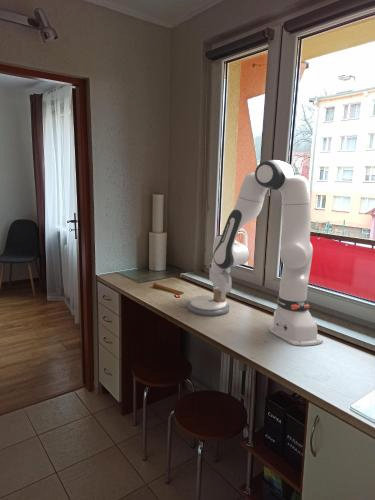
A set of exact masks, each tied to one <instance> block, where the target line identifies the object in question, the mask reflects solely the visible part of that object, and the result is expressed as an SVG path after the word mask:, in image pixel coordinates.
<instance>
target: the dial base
mask: <svg viewBox="0 0 375 500" xmlns="http://www.w3.org/2000/svg"><path fill="white" fill-rule="evenodd" d="M187 310H188V312H190V313H191V314H194V315H197V316H202V317H220V316H224V315H227V314H228V313H229V312H230V305H229V302H226V307H225V308H224V309H221V310H213V311H210V310H201V309H197V308H195V307H193V306H192V305H191V300H189V301H187Z"/></svg>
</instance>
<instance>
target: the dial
mask: <svg viewBox="0 0 375 500" xmlns="http://www.w3.org/2000/svg"><path fill="white" fill-rule="evenodd" d="M221 294H222V290H220V289H219V288H218V289H215V290H214V289H213V295H197V296H195V297H193V298H191V299H190V301H191V305H192V306H193V307H195V308H197V309H201V310H210V311H213V310H221V309H224V308H225V307H226V303H227V300H226V299H227V298H226V297H227V294H226V295H225V299H221V298H220V297H221Z"/></svg>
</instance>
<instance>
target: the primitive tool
mask: <svg viewBox="0 0 375 500" xmlns="http://www.w3.org/2000/svg"><path fill="white" fill-rule="evenodd" d="M152 289H157V290H160V291H164V292H168V293H171V294H174V295H177V296H181V295H183V294H185V292H184V291H181V290H178V289H174V288H171V287H167V286H165V285H161V284H159V283H157V282H153V284H152Z"/></svg>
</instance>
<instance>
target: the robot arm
mask: <svg viewBox="0 0 375 500" xmlns="http://www.w3.org/2000/svg"><path fill="white" fill-rule="evenodd" d="M270 189H271V190H273V191H277V190H278V191H279V192H280V194H281V219H282V220H281V225H282V226H281V233H280V234H281V235H280V260H281V262H282V264H283V265H282V270H281V275H280V282H279V293H278V296H277V303H276V304H277V307H276V308H275V310H274V312H273V315H272V316H273V317H272V323H271V326H270V327H269V328H268V331H269V332H270V333H272V334H274V335H275V336H277V337H279V338H281V339H282V340H284V341H286V342H288V343H289V344H291V345H293V346H304V347H306V346H313V345H314V346H315V345H320V344H322V343H323V342H324V339H323V338H322V337H321V336H320V335H319V334H318V322H317V320H314V318H313V316H312V314H311V313H310V311H309V308H310V304H309V302H308V298H307V296H308V287H309V278H310V273H311V268H312V267H311V266H312V260H313V253H314V248H313V244H312V242H311V226H312V212H311V211H312V209H311V208H312V205H311V203H312V202H311V190H310V186H309V182H308V179H307V178H306V177H305V176H302V175H297V174H296V169H295V167H294V165H292V164H291V163H289V162H287V161H284V160H283V161H282V160H279V159H267V160H264V161H261V162H260V163H259V164H258V165H257V167H256V168H255V171H253V172H249V173H247V174H246V175H245V176H244V178H243V181H242V183H241V187H240V189H239V192H238V195H237V199H236V202H235V204H234V208H233V209H232V211H231V212H230V214H229V215H228V218H227V219H226V222H225V224H224V227H223V231H222V233H221V234H217V235H216V236H215V237H214V240H213V244H212V256H213V257H212V259H211V260H212V261H211V262H210V263H208V268H209V270H208V271H209V281H210V282H211V283H212V288H213V291H214V290H215V289H220V290H222V294H221V297H220V298H221V299H225V295H226V296H227V293H231V292H232V276H231V275H230V273H231V267H236V266H240V265H243V264H245V263H247V262H248V261H249V259H250V250H249V247H248V246H247V245H246V244H244V243H241V242H239V241H237V237H238V233H239V231H240V230H241V228H242V227H243V226H245V225H246V224H247V223H248V222H251V221H253V220H254V219H256V218H257V217H258V216H259V215H260V213H261V211H262V209H263V205H264V202H265V198H266V194H267V192H268V191H269V190H270Z"/></svg>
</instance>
